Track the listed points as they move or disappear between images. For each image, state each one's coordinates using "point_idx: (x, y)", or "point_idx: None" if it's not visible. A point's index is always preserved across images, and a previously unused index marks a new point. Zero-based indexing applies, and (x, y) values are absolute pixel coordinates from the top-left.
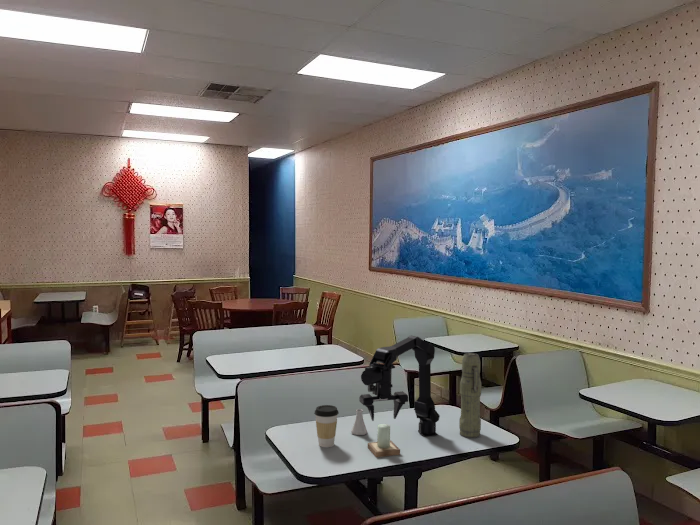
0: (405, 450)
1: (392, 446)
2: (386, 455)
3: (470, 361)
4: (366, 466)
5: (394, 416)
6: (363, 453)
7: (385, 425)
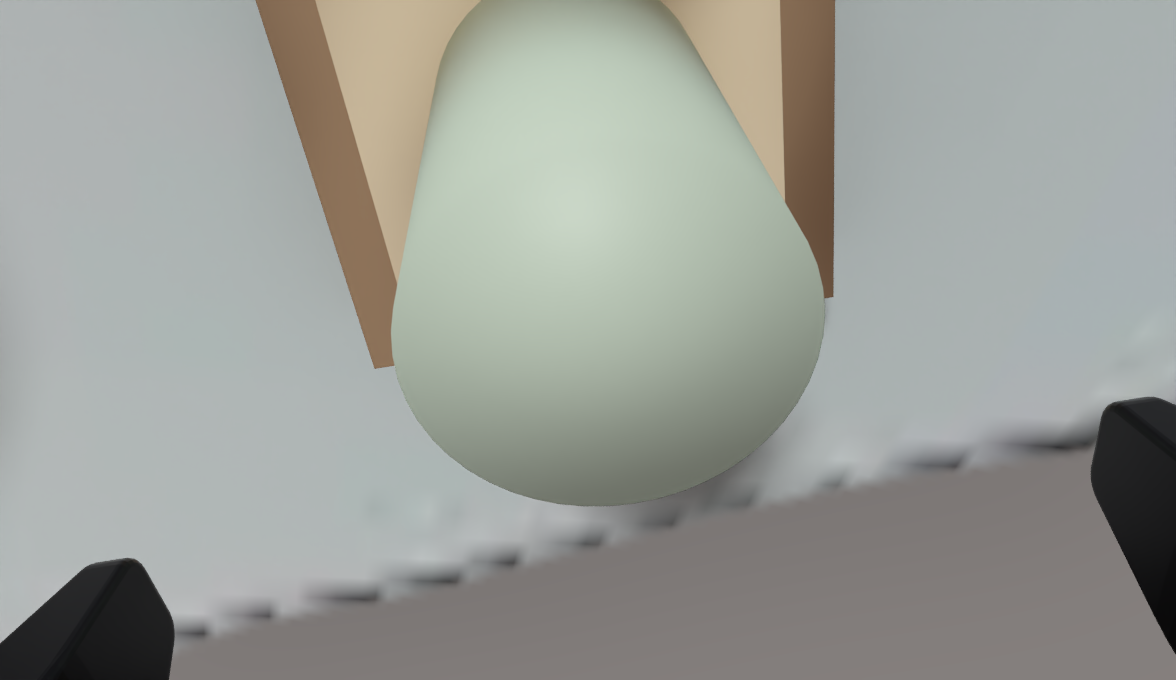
0: (976, 88)
1: None
2: None
3: None
4: (228, 558)
5: (1149, 549)
6: (160, 135)
7: (683, 294)
